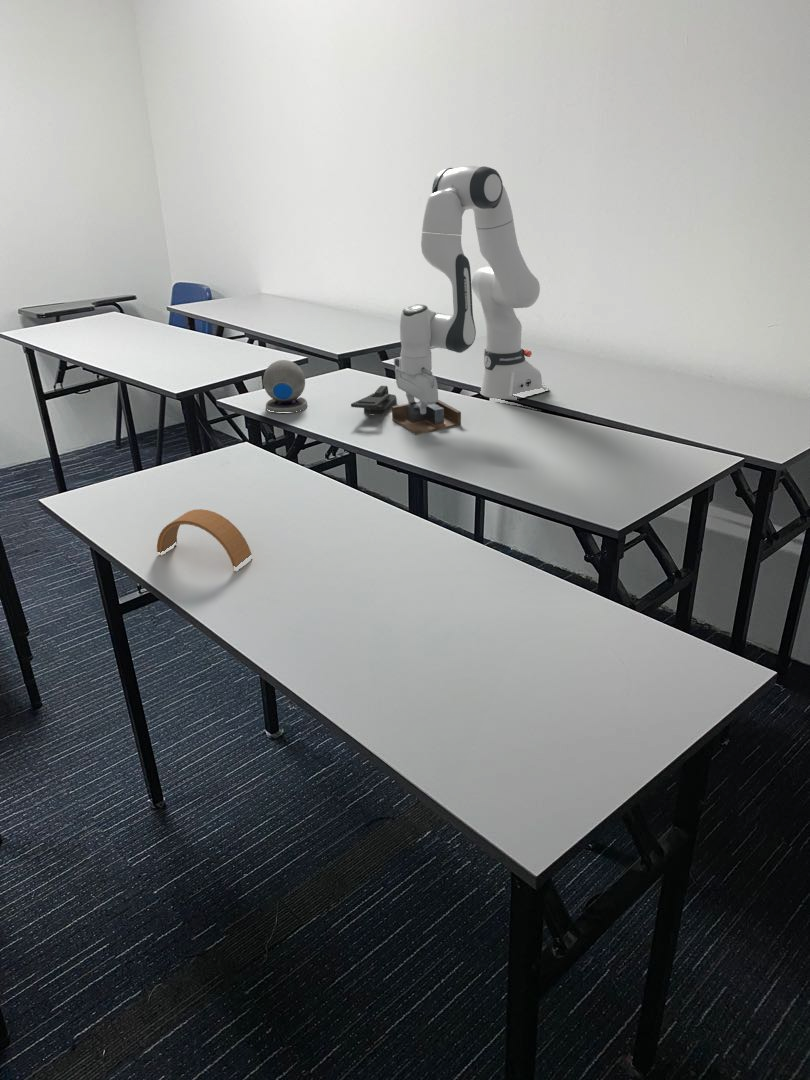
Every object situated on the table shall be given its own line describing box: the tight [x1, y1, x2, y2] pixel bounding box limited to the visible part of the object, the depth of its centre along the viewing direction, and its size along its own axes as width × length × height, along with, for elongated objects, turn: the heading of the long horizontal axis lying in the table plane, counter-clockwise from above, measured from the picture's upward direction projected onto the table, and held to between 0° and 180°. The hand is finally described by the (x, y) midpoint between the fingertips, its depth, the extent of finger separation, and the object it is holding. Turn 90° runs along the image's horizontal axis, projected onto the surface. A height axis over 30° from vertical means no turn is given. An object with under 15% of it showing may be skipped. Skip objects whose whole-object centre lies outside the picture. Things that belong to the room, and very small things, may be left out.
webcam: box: [262, 359, 308, 413], centre depth 255 cm, size 13×13×15 cm
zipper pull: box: [350, 385, 398, 416], centre depth 250 cm, size 9×7×25 cm
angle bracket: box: [407, 403, 444, 425], centre depth 239 cm, size 8×8×4 cm
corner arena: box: [391, 399, 462, 435], centre depth 241 cm, size 15×15×4 cm
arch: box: [156, 508, 252, 567], centre depth 169 cm, size 6×20×10 cm, turn 66°
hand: (417, 410), depth 240 cm, fingers open, 5 cm apart
